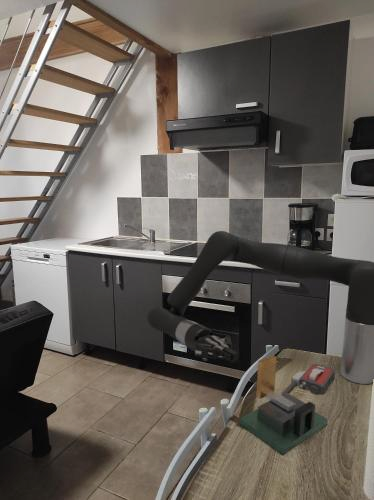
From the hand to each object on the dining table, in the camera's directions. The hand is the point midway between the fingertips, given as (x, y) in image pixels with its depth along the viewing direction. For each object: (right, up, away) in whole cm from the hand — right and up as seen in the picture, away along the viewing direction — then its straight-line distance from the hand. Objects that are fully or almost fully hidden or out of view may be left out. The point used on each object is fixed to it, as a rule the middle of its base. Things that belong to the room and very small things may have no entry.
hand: (235, 357), depth 95 cm
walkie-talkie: (+21, -10, +6) cm, 24 cm away
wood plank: (+8, -7, -10) cm, 15 cm away
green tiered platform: (+9, -12, -11) cm, 19 cm away
